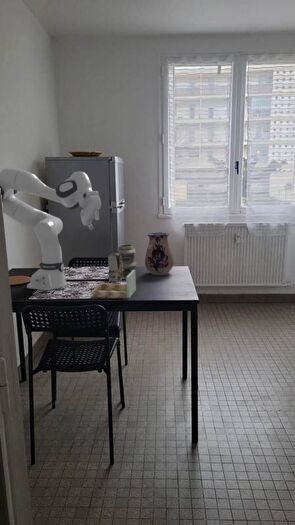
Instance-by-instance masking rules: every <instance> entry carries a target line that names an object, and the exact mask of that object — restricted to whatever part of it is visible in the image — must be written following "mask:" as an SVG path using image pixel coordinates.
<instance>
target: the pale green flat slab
mask: <svg viewBox="0 0 295 525" xmlns="http://www.w3.org/2000/svg"><path fill="white" fill-rule="evenodd" d="M125 281H126V282H125V284H126V286H127V298H126V299H130V298H131V297H132V295H133V294H134V293H135V292H136V290H137V284H136V282H137V281H136V269H132V272H131V273H130V274H129V275H126V277H125Z"/></svg>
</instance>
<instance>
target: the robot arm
mask: <svg viewBox="0 0 295 525" xmlns="http://www.w3.org/2000/svg"><path fill="white" fill-rule="evenodd" d="M0 188H1V195H2V203H3V212H2V213H3V214H5V215H6V216H8V217H9V218H11V219H12V220H14V221H15V222H17V223H20V225H23V226H25V227H28V228H31V229H33V230H34V234H35V236H36V237H37V240H38V242H39V246H40V251H41V259H42V261H41V262H40V263H39V264H38V267H39V269H38V270H37V271H35V272H34V273H33V274H32V275H31V278H30V282H29V283H28V284H27V285H26V288H27V289H32V290H33V289H34V290H41V291H51V290H56V289H61V288H64V287H66V286H67V285H68V283H67V280H66V277H65V272H64V269H65V268H64V267H65V265H64V260H63V254H62V253H63V252H62V246H61V244H60V242H59V237H58V235H60V233H61V232H62V230H63V226H64V224H63V221H62V219H61V218H59V217H57V216H55V215H52V214H50V213H47V212H44V211H42V210H39V209H38V208H35V207H34V206H31V205H30V204H28V203H26V202H24V201H22V200H20V199H19V198H17V197H16V194H17V192H21V193H26V194H30V195H33V196H37V197H40V198H42V199H44V200H48V201H51V202H55V203H57V204H60V205H61V206H62V207H64V208H65V209H67V210H69V211H71V210H72V211H73V210H75V209H77V208H79V207H80V208H81V210H80V214H79V215H80V219H81V223H82V225H83V227H84V226H85V227H86V226H87V227H88V229H89V231H93V230H94V228H95V227H94V226H93V224H92V222H93V220H94V221H95V222H99V221H100V209H101V207H102V201H101V198H100V195H99V194H100V193H99V191H98V190H93V188H92V182H91V180H90V178H89V176H88V174H87V173H86V172H84V171H80V170H79V171H74V172H73V173H72V174H71V175H70V177H69V178H67V179H66V180H64V181H61V182H59V183H58V184H57V185H56V188H52V187H49V186H47V184H46V183H44V182H42V181H41V179H39V177H38V176H37V175H35V174H34V173H32V172H31V171H28V170H24V169H20V168H14V167H5V168H2V169H1V170H0Z"/></svg>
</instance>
